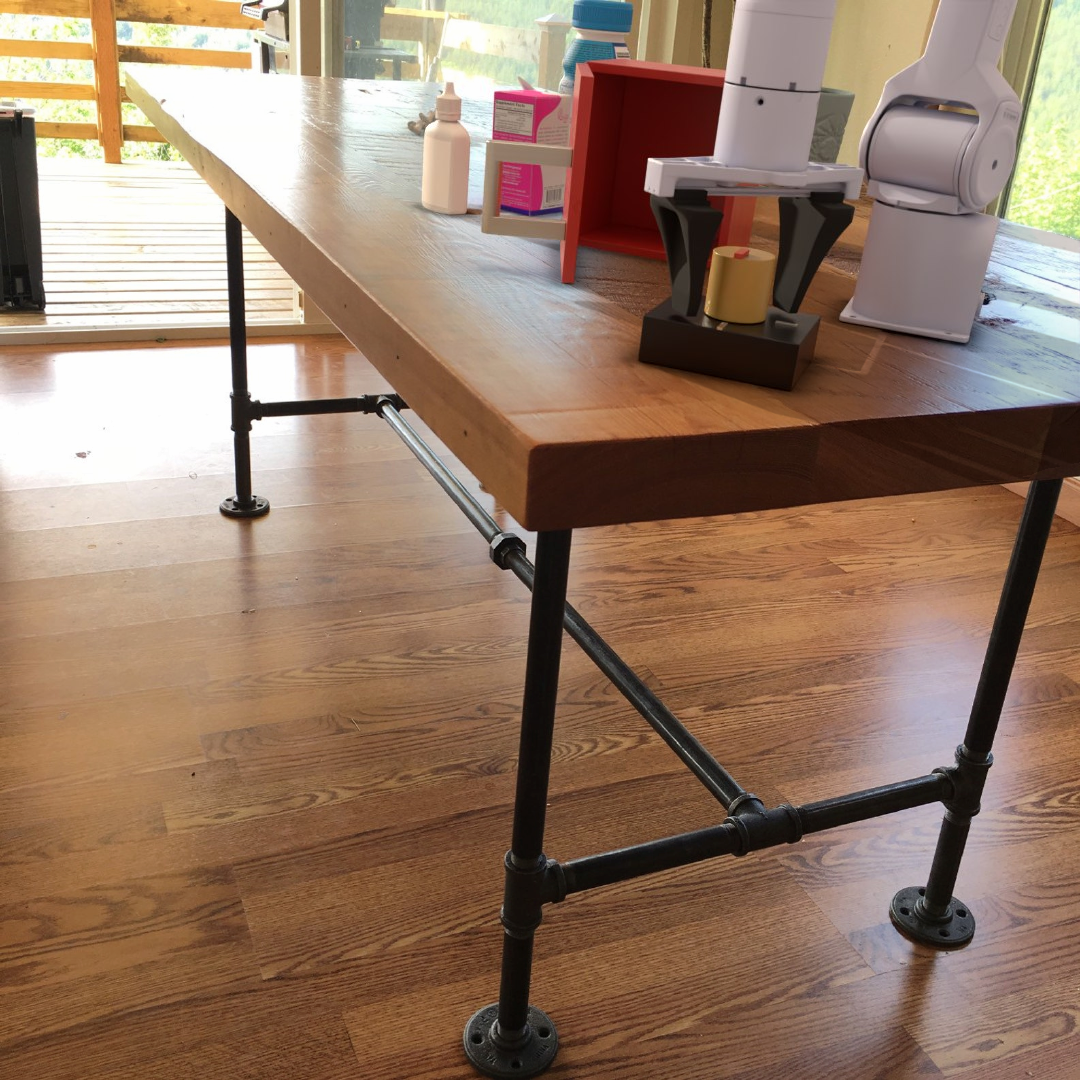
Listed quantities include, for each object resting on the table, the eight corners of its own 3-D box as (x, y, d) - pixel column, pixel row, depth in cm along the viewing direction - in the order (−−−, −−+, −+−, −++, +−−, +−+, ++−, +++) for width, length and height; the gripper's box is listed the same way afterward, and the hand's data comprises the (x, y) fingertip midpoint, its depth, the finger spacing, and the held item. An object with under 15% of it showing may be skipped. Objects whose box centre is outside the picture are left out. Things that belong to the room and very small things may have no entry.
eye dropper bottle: (422, 214, 110) (427, 83, 104) (421, 203, 115) (425, 77, 109) (467, 217, 110) (474, 86, 105) (463, 206, 115) (470, 81, 110)
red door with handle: (477, 275, 89) (489, 67, 82) (486, 237, 102) (497, 55, 95) (574, 284, 89) (594, 76, 82) (570, 245, 102) (588, 63, 95)
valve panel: (812, 359, 76) (822, 313, 75) (790, 392, 69) (799, 342, 68) (672, 332, 79) (678, 287, 78) (637, 361, 72) (643, 313, 71)
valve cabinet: (722, 271, 98) (752, 80, 91) (568, 245, 103) (585, 61, 96) (747, 252, 107) (777, 76, 100) (603, 228, 111) (622, 58, 104)
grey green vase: (761, 174, 155) (777, 81, 150) (835, 183, 154) (853, 89, 148) (759, 184, 146) (775, 86, 141) (838, 194, 145) (857, 95, 140)
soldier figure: (393, 139, 163) (412, 104, 172) (417, 163, 165) (435, 128, 174) (428, 105, 159) (446, 71, 167) (453, 130, 161) (469, 96, 169)
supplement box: (521, 202, 120) (530, 88, 115) (565, 212, 117) (575, 95, 112) (485, 207, 116) (493, 88, 111) (529, 217, 113) (539, 96, 108)
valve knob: (712, 303, 75) (722, 238, 73) (771, 313, 74) (783, 248, 72) (697, 316, 72) (707, 248, 70) (758, 327, 71) (770, 259, 69)
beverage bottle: (559, 189, 130) (576, -2, 121) (544, 176, 137) (559, -5, 128) (629, 192, 132) (650, 5, 123) (610, 180, 139) (629, 2, 130)
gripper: (700, 88, 61) (666, 332, 67) (912, 100, 66) (863, 325, 72) (641, 74, 67) (615, 300, 73) (841, 87, 72) (801, 296, 78)
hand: (735, 311), depth 73 cm, fingers open, 7 cm apart
